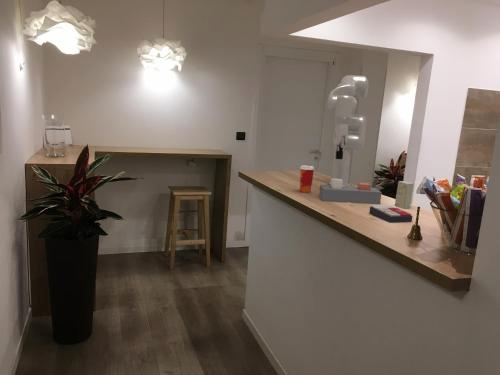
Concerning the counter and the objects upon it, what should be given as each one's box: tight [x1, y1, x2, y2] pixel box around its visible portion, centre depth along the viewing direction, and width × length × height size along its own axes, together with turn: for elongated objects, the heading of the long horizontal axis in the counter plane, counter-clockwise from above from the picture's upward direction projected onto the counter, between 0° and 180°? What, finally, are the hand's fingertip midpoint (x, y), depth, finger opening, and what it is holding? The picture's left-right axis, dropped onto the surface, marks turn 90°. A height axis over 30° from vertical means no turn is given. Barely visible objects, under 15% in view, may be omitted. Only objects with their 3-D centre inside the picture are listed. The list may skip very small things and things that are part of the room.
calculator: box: [368, 205, 414, 224], centre depth 177 cm, size 11×4×15 cm
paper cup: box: [299, 164, 315, 194], centre depth 222 cm, size 8×8×14 cm
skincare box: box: [394, 180, 415, 209], centre depth 199 cm, size 6×4×12 cm
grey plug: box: [329, 177, 343, 189], centre depth 208 cm, size 5×5×7 cm
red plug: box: [357, 182, 372, 191], centre depth 208 cm, size 5×5×7 cm
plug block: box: [318, 184, 382, 205], centre depth 209 cm, size 12×28×6 cm, turn 90°
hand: (338, 158), depth 205 cm, fingers closed
